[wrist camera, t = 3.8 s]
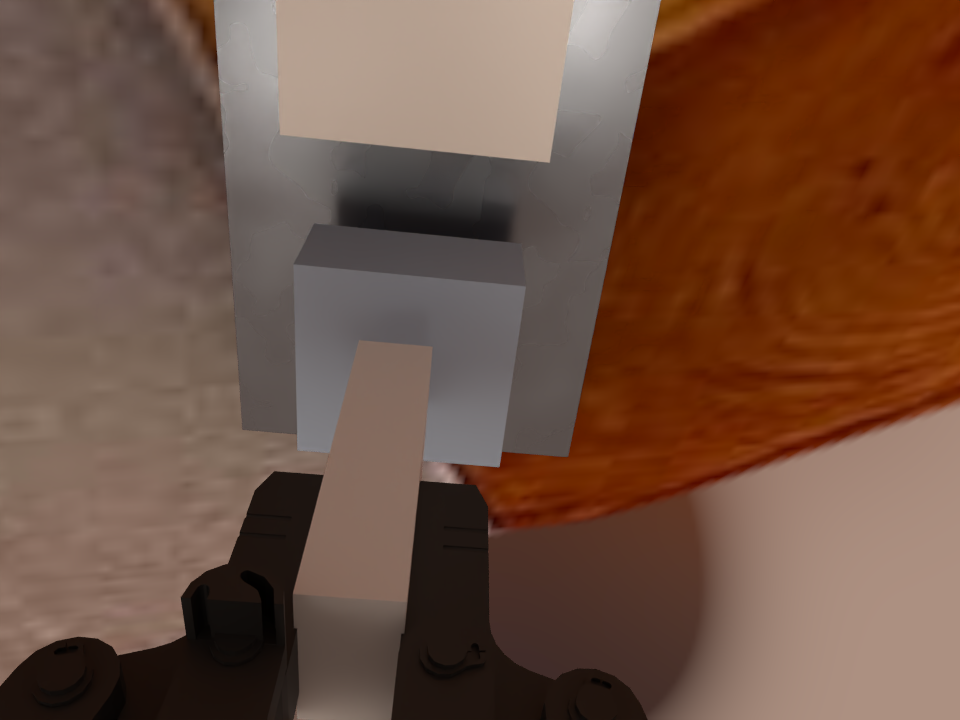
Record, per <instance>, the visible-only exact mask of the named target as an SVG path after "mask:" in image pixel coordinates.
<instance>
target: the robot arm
mask: <svg viewBox="0 0 960 720" xmlns="http://www.w3.org/2000/svg"><path fill="white" fill-rule="evenodd" d="M432 349H433V347H431V346H420V345H408V344H397V343H386V342H374V341H363V340H359V342H358V346H357V350H356V354H355V357H354V361H353V365H352V369H351V373H350V377H349V380H348V384H347V388H346V392H345V396H344V400H343V403H342V407H341V411H340V415H339V419H338V423H337V426H336V430H335V434H334V438H333V442H332V446H331V449H330V453H329V457H328V461H327V465H326V469H325V472H324V475H315V474H302V473H289V472H277V471H274V472H273V473H272V474H271V475H270V476H269V477H268V478H267V479H266V480H265V481H264V482H263V483H262V484H261V485H260V486H259V487H258V488H257V489H256V490H255V492H254V495H253V497H252V500H251V503H250V506H249V508H248V511H247V516H246V518H245V519H244V522H243V525H242V527H241V530H240V536H239V537H238V538H237V541H236V544H235V547H234V549H233V552H232V555H231V557H230V560H229V563H228V564H225V565H222V566H220V567H217V568H214V569H211V570H208V571H206V572H205V573H203V574H202V575H201V576H199V577H198V578H197V579H195V580H194V581H192V582H191V583H190V585H189V586H188V588H187V589H186V591H185V592H184V593H183V595H182V596H181V602H182V609H183V616H184V623H185V630H186V636H184V637H182V638H180V639H178V640H176V641H174V642H172V643H169V644H166V645H162V646H159V647H156V648H151V649H146V650H142V651H137V652H132V653H127V654H123V655H118V656H117V654H116V652H115V651H114V649H113V647H112V646H110V645H108V644H106V643H104V642H103V641H101V640H99V639H95V638H86V637H75V638H70V639H65V640H60V641H56V642H54V643H52V644H50V645H48V646H46V647H43V648H41V649H39V650H37V651H35V652H34V653H33V654H32V655H31V656H29V657H28V658H27V659H26V660H25V661H24V662H22V663H21V664H20V665H19V666H18V667H17V668H16V669H15V670H14V671H13V672H12V674H11V675H10V676H9V677H8V678H7V679H6V680H5V681H4V683H3V684H2V685H1V686H0V720H293V719H294V714H295V709H296V705H297V719H306V720H647V718H646V715H645V713H644V711H643V708H642V706H641V704H640V703H639V701H638V700H637V698H636V697H635V695H634V694H633V692H632V691H631V689H630V688H629V687H628V686H626V685H625V684H624V683H623V682H621V681H620V680H618V679H617V678H616V677H615V676H613V675H610V674H608V673H605V672H602V671H600V670H597V669H575V670H572V671H570V672H567V673H564V674H562V675H560V676H559V677H558V678H557V679H556V680H553V679H551V678H548V677H545V676H543V675H540V674H537V673H535V672H532V671H529V670H527V669H525V668H523V667H521V666H519V665H517V664H516V663H514V662H513V661H512V660H511V659H509V658H508V657H507V656H506V655H504V653H503V652H502V651H501V650H500V648H499V647H498V646H497V645H496V643H495V640H494V638H493V636H492V634H491V630H490V623H489V570H488V568H489V567H488V566H489V564H488V506H487V504H486V502H485V501H484V499H483V497H482V495H481V494H480V492H479V490H478V488H477V486H476V485H465V484H452V483H439V482H427V481H421V477H422V467H423V457H424V446H425V433H426V421H427V409H428V397H429V385H430V373H431V361H432Z"/></svg>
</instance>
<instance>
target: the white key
mask: <svg viewBox="0 0 960 720" xmlns="http://www.w3.org/2000/svg"><path fill="white" fill-rule="evenodd" d="M573 5H574V0H276V24H277V58H278V92H279V126H280V135H286V136H295V137H305V138H315V139H324V140H334V141H344V142H354V143H363V144H373V145H383V146H392V147H402V148H412V149H421V150H431V151H441V152H451V153H460V154H470V155H480V156H489V157H499V158H509V159H518V160H528V161H538V162H548V163H550V157H551V150H552V144H553V137H554V130H555V124H556V117H557V111H558V104H559V97H560V91H561V84H562V77H563V71H564V64H565V58H566V51H567V44H568V38H569V31H570V24H571V18H572V11H573Z"/></svg>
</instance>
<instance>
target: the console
mask: <svg viewBox="0 0 960 720" xmlns="http://www.w3.org/2000/svg"><path fill="white" fill-rule="evenodd" d="M660 2H661V0H574V5H573V11H572V18H571V24H570V31H569V38H568V44H567V51H566V58H565V64H564V71H563V77H562V84H561V91H560V97H559V104H558V111H557V117H556V124H555V130H554V137H553V144H552V150H551V157H550V163H548V162H538V161H528V160H518V159H509V158H499V157H489V156H480V155H470V154H460V153H451V152H441V151H431V150H421V149H412V148H402V147H392V146H383V145H373V144H363V143H354V142H344V141H334V140H324V139H315V138H305V137H295V136H286V135H280V126H279V92H278V58H277V24H276V0H214V13H215V28H216V43H217V58H218V73H219V88H220V102H221V117H222V132H223V147H224V162H225V177H226V192H227V206H228V221H229V236H230V251H231V266H232V281H233V296H234V310H235V325H236V340H237V355H238V370H239V385H240V400H241V415H242V429H243V430H252V431H264V432H275V433H287V434H297V402H296V358H295V314H294V269H293V264H294V262H295V260H296V258H297V256H298V254H299V252H300V250H301V249H302V247H303V245H304V243H305V241H306V239H307V237H308V235H309V233H310V231H311V229H312V227H313V225H314V223H316V224H326V225H336V226H347V227H357V228H367V229H377V230H387V231H398V232H408V233H418V234H428V235H439V236H449V237H459V238H469V239H480V240H490V241H500V242H510V243H520V244H521V245H522V254H523V263H524V273H525V282H526V290H525V297H524V304H523V310H522V317H521V324H520V331H519V338H518V344H517V351H516V358H515V365H514V371H513V378H512V385H511V392H510V399H509V405H508V412H507V419H506V426H505V433H504V439H503V446H502V452H513V453H525V454H537V455H549V456H561V457H568V454H569V449H570V444H571V439H572V434H573V429H574V425H575V420H576V415H577V410H578V405H579V400H580V395H581V390H582V385H583V380H584V375H585V370H586V366H587V361H588V356H589V351H590V346H591V341H592V336H593V331H594V326H595V321H596V316H597V311H598V307H599V302H600V297H601V292H602V287H603V282H604V277H605V272H606V267H607V262H608V257H609V253H610V248H611V243H612V238H613V233H614V228H615V223H616V218H617V213H618V208H619V203H620V198H621V194H622V189H623V184H624V179H625V174H626V169H627V164H628V159H629V154H630V149H631V144H632V139H633V135H634V130H635V125H636V120H637V115H638V110H639V105H640V100H641V95H642V90H643V85H644V80H645V76H646V71H647V66H648V61H649V56H650V51H651V46H652V41H653V36H654V31H655V26H656V21H657V17H658V12H659V7H660Z"/></svg>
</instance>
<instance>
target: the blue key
mask: <svg viewBox="0 0 960 720" xmlns="http://www.w3.org/2000/svg"><path fill="white" fill-rule="evenodd" d="M293 269H294V314H295V358H296V402H297V446H298V450H299V451H311V452H323V453H330V449H331V446H332V442H333V438H334V434H335V430H336V426H337V423H338V419H339V415H340V411H341V407H342V403H343V400H344V396H345V392H346V388H347V384H348V380H349V377H350V373H351V369H352V365H353V361H354V357H355V354H356V350H357V346H358V342H359V340H363V341H374V342H386V343H397V344H408V345H420V346H431V347H433V349H432V361H431V373H430V385H429V397H428V409H427V421H426V433H425V446H424V457H423V461H432V462H444V463H456V464H468V465H480V466H492V467H499V466H500V460H501V453H502V446H503V439H504V433H505V426H506V419H507V412H508V405H509V399H510V392H511V385H512V378H513V371H514V365H515V358H516V351H517V344H518V338H519V331H520V324H521V317H522V310H523V304H524V297H525V290H526V282H525V273H524V263H523V254H522V245H521V244H520V243H510V242H500V241H490V240H480V239H469V238H459V237H449V236H439V235H428V234H418V233H408V232H398V231H387V230H377V229H367V228H357V227H347V226H336V225H326V224H316V223H314V225H313V227H312V229H311V231H310V233H309V235H308V237H307V239H306V241H305V243H304V245H303V247H302V249H301V250H300V252H299V254H298V256H297V258H296V260H295V262H294V264H293Z"/></svg>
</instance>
